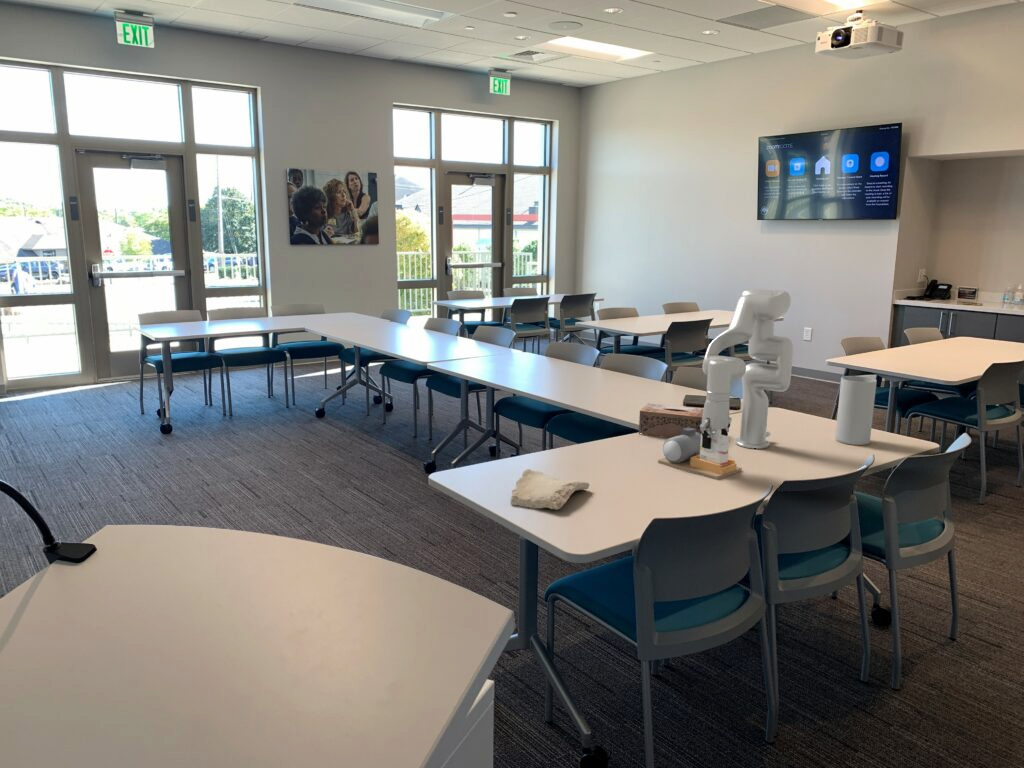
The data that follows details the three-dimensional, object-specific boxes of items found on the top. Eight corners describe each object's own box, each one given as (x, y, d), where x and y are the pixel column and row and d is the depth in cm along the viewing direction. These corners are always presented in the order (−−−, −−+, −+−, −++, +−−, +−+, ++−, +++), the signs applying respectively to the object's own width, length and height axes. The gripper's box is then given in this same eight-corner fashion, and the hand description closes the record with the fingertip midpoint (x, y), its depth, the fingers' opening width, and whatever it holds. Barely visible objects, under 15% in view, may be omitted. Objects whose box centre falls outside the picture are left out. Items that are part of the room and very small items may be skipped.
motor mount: (683, 454, 276) (685, 423, 274) (741, 470, 259) (744, 437, 256) (657, 462, 266) (659, 430, 264) (716, 479, 249) (719, 445, 246)
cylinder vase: (861, 437, 303) (868, 376, 298) (875, 446, 291) (882, 382, 286) (830, 436, 303) (836, 375, 298) (842, 445, 291) (849, 381, 286)
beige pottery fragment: (499, 506, 225) (560, 512, 216) (498, 482, 224) (559, 487, 215) (535, 486, 247) (592, 490, 237) (534, 463, 246) (592, 467, 236)
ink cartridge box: (727, 469, 256) (731, 427, 253) (718, 472, 253) (721, 429, 250) (707, 463, 263) (710, 422, 260) (698, 465, 260) (700, 424, 257)
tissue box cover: (709, 433, 307) (711, 409, 305) (703, 442, 294) (705, 417, 292) (647, 426, 317) (648, 403, 315) (638, 434, 304) (639, 410, 302)
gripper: (722, 391, 262) (719, 439, 265) (693, 398, 250) (690, 447, 254) (741, 395, 256) (738, 443, 260) (712, 402, 245) (709, 452, 248)
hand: (714, 445), depth 257 cm, fingers open, 9 cm apart
